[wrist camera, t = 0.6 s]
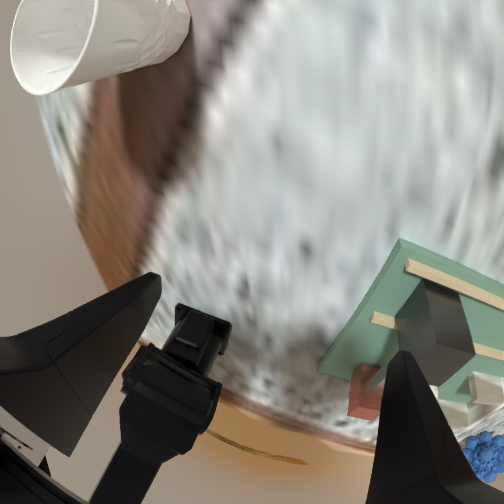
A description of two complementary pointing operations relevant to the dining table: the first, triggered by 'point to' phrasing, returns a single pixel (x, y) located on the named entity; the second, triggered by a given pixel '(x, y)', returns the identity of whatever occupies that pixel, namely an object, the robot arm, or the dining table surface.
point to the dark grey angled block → (419, 346)
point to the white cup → (92, 39)
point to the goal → (475, 401)
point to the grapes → (485, 455)
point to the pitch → (394, 298)
